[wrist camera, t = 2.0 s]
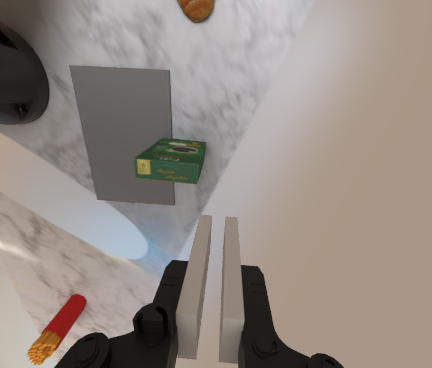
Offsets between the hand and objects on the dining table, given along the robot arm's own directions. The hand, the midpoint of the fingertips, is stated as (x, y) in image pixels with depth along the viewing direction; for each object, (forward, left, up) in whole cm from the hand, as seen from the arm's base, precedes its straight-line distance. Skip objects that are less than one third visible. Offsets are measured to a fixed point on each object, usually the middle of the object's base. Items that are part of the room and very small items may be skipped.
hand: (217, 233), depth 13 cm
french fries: (-37, -45, -25) cm, 64 cm away
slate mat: (-17, 0, -24) cm, 30 cm away
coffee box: (-7, 0, -24) cm, 25 cm away
